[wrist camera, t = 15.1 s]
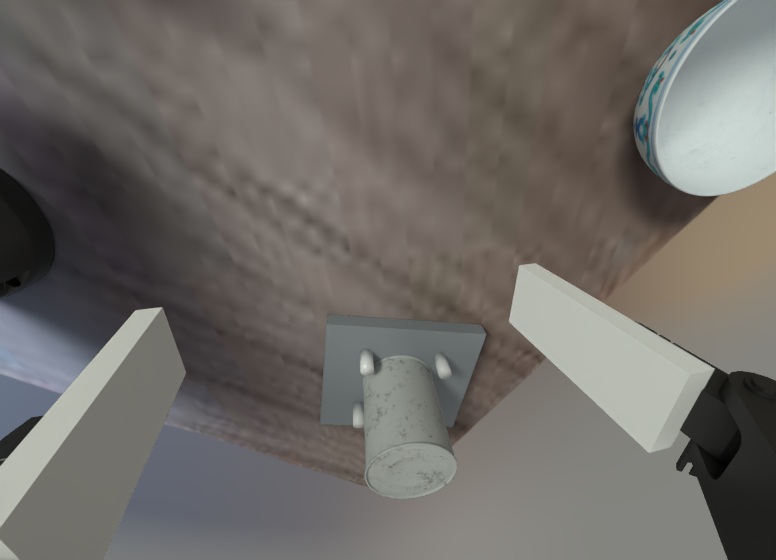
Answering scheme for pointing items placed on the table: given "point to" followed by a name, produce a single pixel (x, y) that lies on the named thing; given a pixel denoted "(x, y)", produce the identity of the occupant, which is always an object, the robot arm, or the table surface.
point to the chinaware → (713, 102)
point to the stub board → (389, 338)
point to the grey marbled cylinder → (405, 430)
